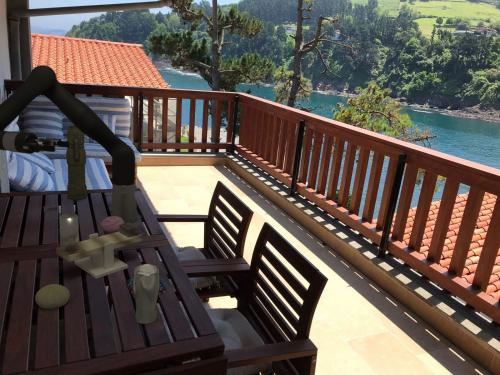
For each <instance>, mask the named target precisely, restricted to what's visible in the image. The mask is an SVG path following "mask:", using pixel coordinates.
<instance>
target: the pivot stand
mask: <svg viewBox="0 0 500 375" xmlns="http://www.w3.org/2000/svg"><path fill="white" fill-rule="evenodd" d="M96 237H99V233H98V232H95V233H92V234H89V235H88V239H92V238H96ZM114 250H115V249H114V243H113V242H110V243H106V244H104V252H102V253H98V254H95V255H92V256H88V257H85V258H81V259H78V260H74V264H75V265H76V266H77V267H79V269H80V268H81V269H82V270H83V271H85V272H86V273H88V274H89V275H90V274H91V275H90V276H92V277H93V278H94V279H99V278H102V277H104V276H108V275H112V274H113V273H118V272H120V271H124V270H126V269H129V265H128V264H126V263H125V262H124V261H122V260H120V259H118V258H117V257H115V254H114Z"/></svg>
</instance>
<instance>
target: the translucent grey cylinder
mask: <svg viewBox="0 0 500 375" xmlns="http://www.w3.org/2000/svg"><path fill="white" fill-rule="evenodd" d="M58 218H59V219H58V220H59V221H58V222H59V239H60V241H59V242H60V247H61V251H62V252H67V253H70V252H75V251H77V250H79V242H80V231H79V230H80V229H79V215H78V214H76V213H64V214H61V215H59V217H58Z"/></svg>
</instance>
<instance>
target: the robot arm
mask: <svg viewBox="0 0 500 375" xmlns="http://www.w3.org/2000/svg"><path fill="white" fill-rule="evenodd" d="M57 78H58V77H57V74H56V72H55V69H53V68H52V67H51V66H48V65H44V64H40V65H37V66H35V67H33V68H32V70H31V71H30V73H29V75H28V76H27V77H26V79H25V81H23V83H21V85H20V86H19V87H18V88H17V89H16V90H15V91H14V92H12V94H11V95H9V96H8V97H7V98H6V99H5V100H4V101H2V102H1V103H0V151H8V152H11V153H19V154H27V155H30V154H31V155H32V154H35V153H37V154H38V153H40V152H41V153H43V152H48V153H54V152H56V148H66V149H67V148H68V147H69V142H68V141H67V140H62V138H55V137H54V138H53V137H45V138H44V137H37V136H38V135H37V134H35V133H33V132H27V131H26V132H25V131H17V130H15V131H11V130H5V129H6V128H8V127H9V126H10V125H11V124H12V123H13V122H14V121H15V120H16V119H17V118H18V117H19V116H20V115H21V114H22V113H23V112H24V110H25V109H26V108H27V107H28V106H29V104H30V103H32V102H33V101H34V100H35V99H36V98H38V96H40V95H43V96H44V97H46V99H47V100H49V101H50V102H52V104H54V105H55V106H56V107H57V108H58V109H59V111H60V112H61V113H62V114H63V115H64V116H65V117H66V118H67V119H68V120H69V122H70V123H71V124H72V125H73V126H76V127H77V128H78V129H79V130H80V131H81V132H82V133H84V136H87V137H88V138H89V139H91V140H93V141H94V142H96V143H98V144H99V145H100V146H101V147H102V148H103V149H104V150H105V151H106V152H107V153H108V154H109V155H110V157H111V177H112V178H111V183H112V184H111V190H112V191H111V192H112V196H111V197H112V198H111V200H112V201H111V202H112V208H111V210H112V212H111V214H112V216H118V217H120V218H122V219H123V221H124V223H128V222H130V223H132V224H134V223H135V222H136V221H137V206H138V205H137V199H135V194H136V192H135V188H136V186H135V185H136V181H135V180H136V155H135V151H134V149H133V147H131V146H130V145H129V144H128V143H126V142H125V141H123V140H122V139H121V138H120V137H119V136H117V135H116V134H115V133H114V132H113V131H112V130H111V129H110V127H109V126H108V125H107V124H106V123H105V121H104V120H102V118H101V117H100V116H99V115H98V114H97V113H96V112H95V111H94V110H92V109H91V107H89V106H88V105H87V103H85V102H83V101H82V100H81V99H79V98H77V97H76V96H75V95H73V94H72V93H71V92H69V91H68V90H67V89H66V88H65V87H64V85H63V84H61V82H60V81H59V80H58V79H57Z"/></svg>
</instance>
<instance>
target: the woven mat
mask: <svg viewBox="0 0 500 375" xmlns="http://www.w3.org/2000/svg"><path fill="white" fill-rule="evenodd" d="M133 280H134V277H133V278H131V279H127V281H126V282H125V284H126V287H127V288H128V290H129V291H130V294H131V295H132V297H133V298H134V299H135V295H134V289H133ZM166 291H167V288H166V286H165V284H164V283H163V281H161V279H160V278H159V292H158V295H161V293H164V294H165V293H166Z"/></svg>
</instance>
